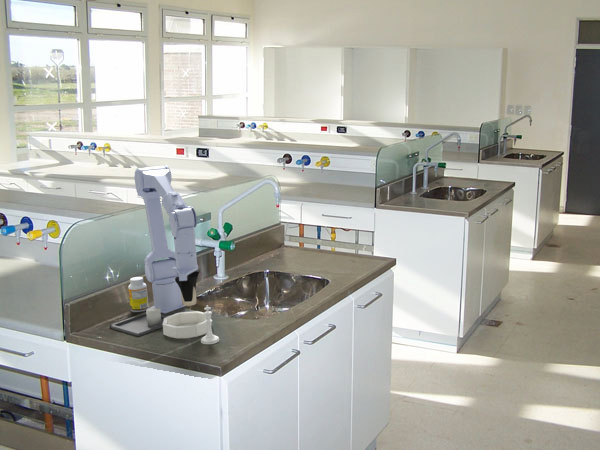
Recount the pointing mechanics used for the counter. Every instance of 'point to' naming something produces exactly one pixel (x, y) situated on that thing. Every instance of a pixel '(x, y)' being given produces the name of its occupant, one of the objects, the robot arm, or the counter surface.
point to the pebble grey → (153, 316)
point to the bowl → (185, 325)
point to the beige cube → (190, 301)
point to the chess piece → (209, 329)
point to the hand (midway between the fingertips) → (189, 298)
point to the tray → (136, 325)
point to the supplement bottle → (138, 294)
